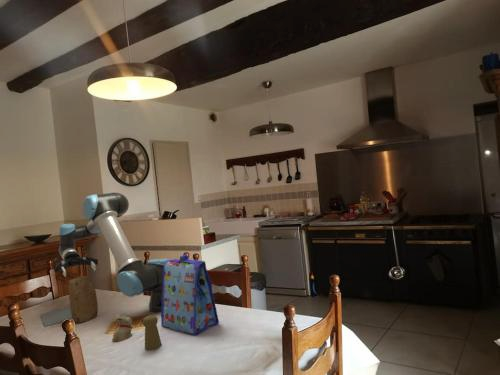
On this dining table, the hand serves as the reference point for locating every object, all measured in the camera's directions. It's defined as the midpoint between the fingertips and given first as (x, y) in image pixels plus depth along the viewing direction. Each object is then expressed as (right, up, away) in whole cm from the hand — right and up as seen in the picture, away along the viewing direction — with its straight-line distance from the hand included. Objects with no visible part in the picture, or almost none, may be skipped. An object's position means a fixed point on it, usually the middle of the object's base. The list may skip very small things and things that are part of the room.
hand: (80, 270), depth 179 cm
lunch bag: (+58, -15, -30) cm, 67 cm away
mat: (-11, -23, +2) cm, 26 cm away
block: (+6, -21, -8) cm, 23 cm away
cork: (+48, -17, -47) cm, 69 cm away
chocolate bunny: (+33, -18, -35) cm, 52 cm away
